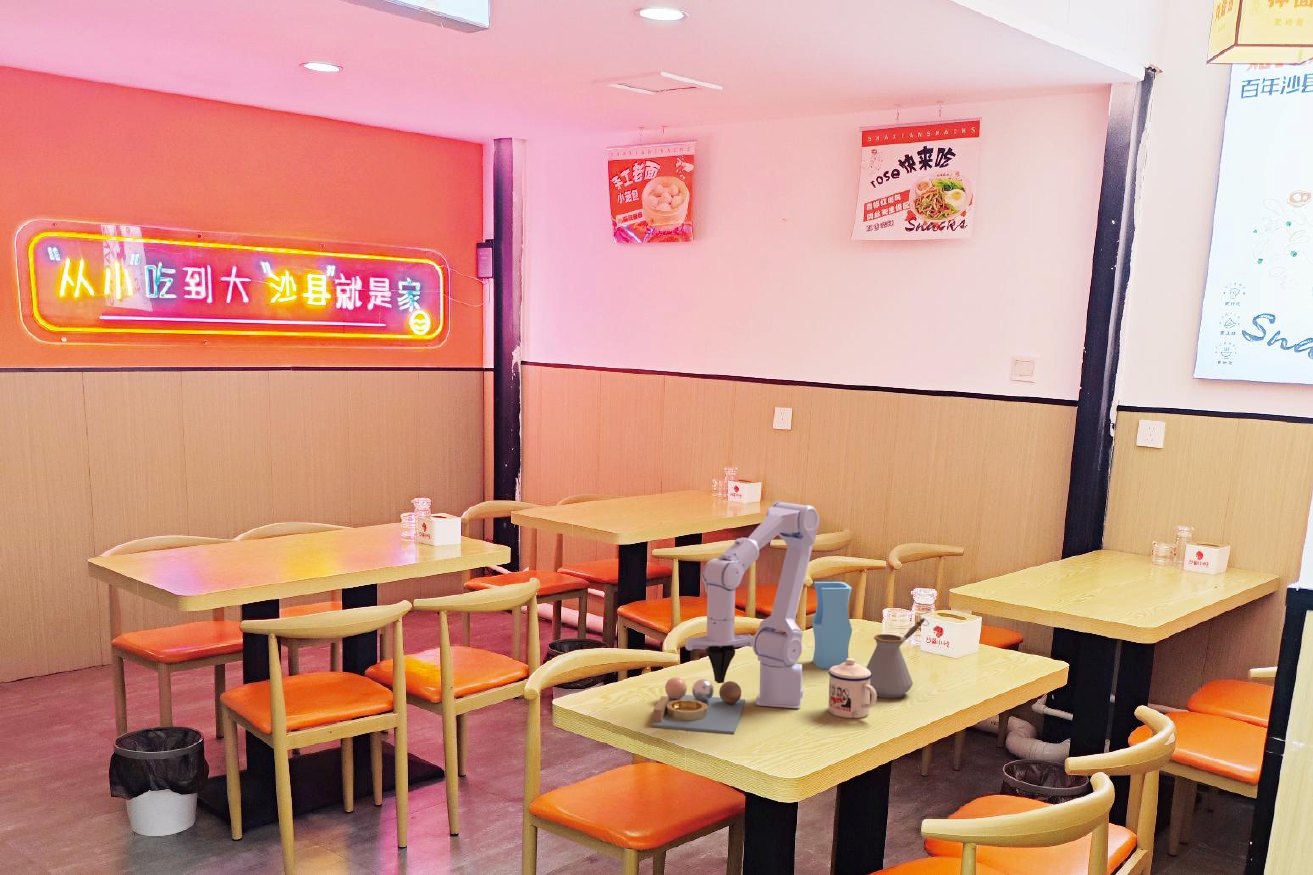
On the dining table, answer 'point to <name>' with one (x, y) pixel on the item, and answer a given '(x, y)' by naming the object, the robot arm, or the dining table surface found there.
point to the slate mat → (717, 719)
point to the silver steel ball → (703, 690)
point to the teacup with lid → (850, 690)
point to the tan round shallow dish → (686, 710)
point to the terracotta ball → (675, 688)
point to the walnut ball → (730, 692)
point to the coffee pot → (890, 665)
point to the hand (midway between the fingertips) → (719, 681)
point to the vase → (831, 624)
